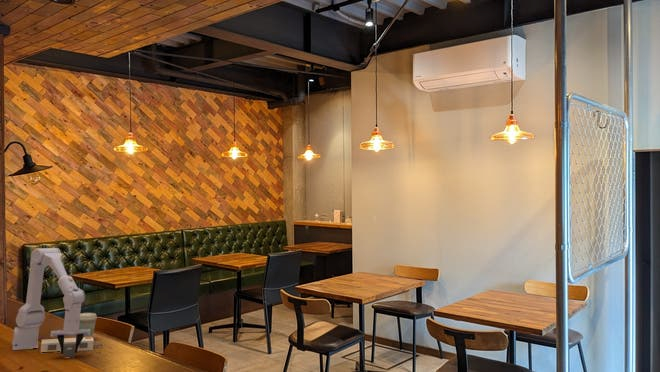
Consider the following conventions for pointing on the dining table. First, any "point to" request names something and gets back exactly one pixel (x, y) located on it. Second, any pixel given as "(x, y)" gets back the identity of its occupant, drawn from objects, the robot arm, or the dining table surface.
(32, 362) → the dining table surface
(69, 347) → the charger
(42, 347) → the power strip
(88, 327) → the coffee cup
